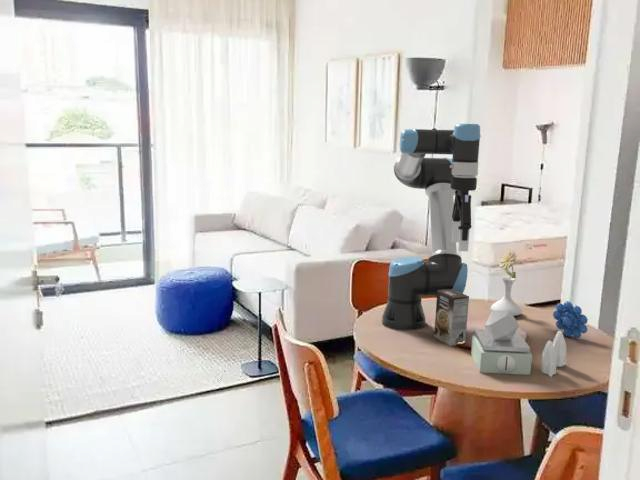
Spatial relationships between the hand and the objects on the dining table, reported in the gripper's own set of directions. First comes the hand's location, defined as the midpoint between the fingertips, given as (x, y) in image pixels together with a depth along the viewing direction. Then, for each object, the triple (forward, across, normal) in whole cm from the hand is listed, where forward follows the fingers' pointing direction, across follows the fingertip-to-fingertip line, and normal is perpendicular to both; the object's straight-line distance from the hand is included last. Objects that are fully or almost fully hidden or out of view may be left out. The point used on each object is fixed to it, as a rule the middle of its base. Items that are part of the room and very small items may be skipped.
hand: (459, 246), depth 180 cm
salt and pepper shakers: (+33, +13, +27) cm, 45 cm away
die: (+25, +11, +12) cm, 30 cm away
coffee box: (+33, -7, 0) cm, 34 cm away
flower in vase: (+33, -37, +25) cm, 55 cm away
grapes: (+33, -15, +40) cm, 54 cm away
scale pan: (+26, +11, +12) cm, 31 cm away
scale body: (+33, +11, +12) cm, 37 cm away
